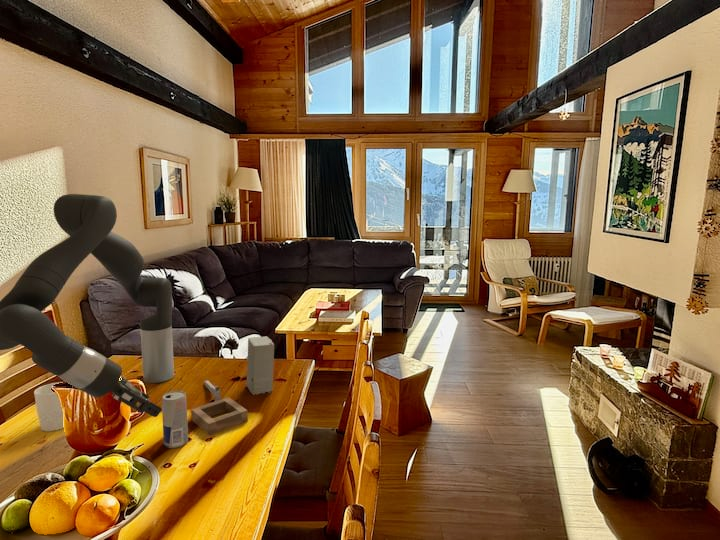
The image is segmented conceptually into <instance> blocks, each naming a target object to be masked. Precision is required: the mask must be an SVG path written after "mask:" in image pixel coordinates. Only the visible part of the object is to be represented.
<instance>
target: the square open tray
mask: <svg viewBox="0 0 720 540" xmlns="http://www.w3.org/2000/svg"><path fill="white" fill-rule="evenodd" d="M225 412H226V414H224V415H220V416H217V415H219V414H223V413H225ZM248 413H249V412H248V409H246V408H245V407H243V406H242V405H241V404H239V403H238V402H236V401H234V400H233V399H232V398H231V397H225V398H221V400H218V401H215V400H214V401H213V402H209V403H205V404H202V405H200V406H196V407H194V408H191V409H190V415H191V421H192V422H193V423H195V425H197V426H198V427H199V428H200V429H202V430H203V431H204V432H205V433H206V434H207V435H208V436H212V435H214V434H217V433H219V432H222V431H224V430H227V429H231V428H234V427H235V426H238V425H240V424H243V423H247V422H248V421H249V415H248ZM213 416H217V417H215V418H212V417H213Z"/></svg>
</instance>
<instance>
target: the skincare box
mask: <svg viewBox="0 0 720 540" xmlns="http://www.w3.org/2000/svg"><path fill="white" fill-rule="evenodd" d="M274 359H275V343H274V342H273V341H272V339H270V338H269V336H267V335H266V336H253V337H252V336H251V337H248V338H247V360H246V363H247V365H246V366H247V367H246V368H247V369H246V387H247V388H248V390H249V391H250V393H251V394H252V396H255V394H256V395H261V394H260V393H262V394H266V393H265V392H268V393H271V392H270V391H272V392H273V387H274V386H273V385H274V366H275V365H274V363H275V360H274Z"/></svg>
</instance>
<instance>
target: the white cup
mask: <svg viewBox="0 0 720 540" xmlns="http://www.w3.org/2000/svg"><path fill="white" fill-rule="evenodd" d="M63 382H64V381H59V382H52V383H48V384H45V385H42V386H39V387H38V388H36V389H35V390H34V391H33V394H34V400H35V407H36V413H37V418H38V420H39V427H40V430H41V431H43V430H44V431H43V432H54V431H53V430H56V431H60V430H62V429H64V428H63V411H62V407H61V404H60V401H59V398H58V396H57V394H56V393H55V392H53V391H52V390H51V386H53V385H55V384H59V383H63ZM59 429H60V430H59Z"/></svg>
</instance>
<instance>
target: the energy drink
mask: <svg viewBox="0 0 720 540" xmlns="http://www.w3.org/2000/svg"><path fill="white" fill-rule="evenodd" d="M187 403H188V402H187V396H186V392H185V391H182V390H173V391H168V392H166V393H164V394H163V395H162V398H161V408H162V411H161V413H162V418H161V419H162V430H163V445H164V446H165V448H168V449H177V448H181V447H183V446H185V445H186V444H187V443H188V441H189V426H188V425H189V423H188V405H187Z"/></svg>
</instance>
